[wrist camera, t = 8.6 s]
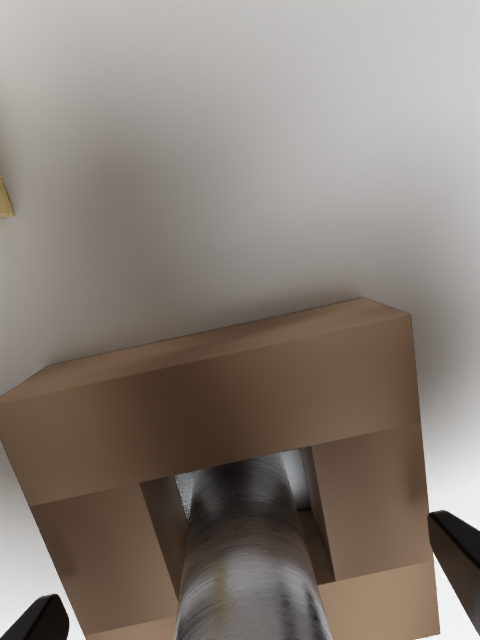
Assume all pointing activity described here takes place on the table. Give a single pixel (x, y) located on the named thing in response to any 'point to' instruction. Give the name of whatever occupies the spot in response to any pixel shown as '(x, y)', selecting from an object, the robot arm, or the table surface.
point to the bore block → (227, 447)
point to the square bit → (4, 202)
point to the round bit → (247, 559)
